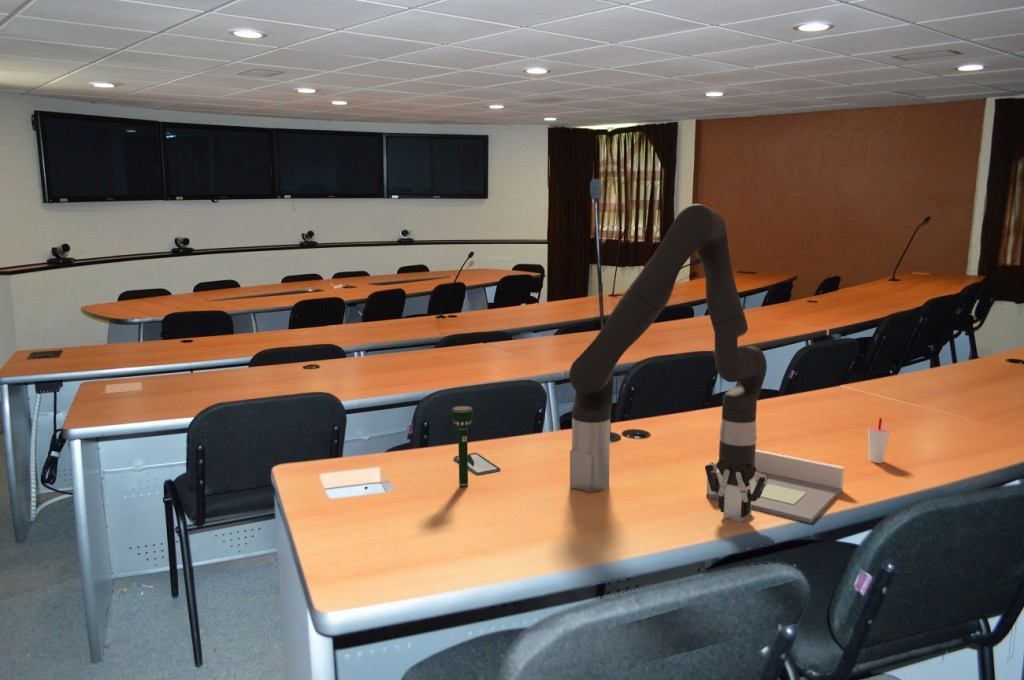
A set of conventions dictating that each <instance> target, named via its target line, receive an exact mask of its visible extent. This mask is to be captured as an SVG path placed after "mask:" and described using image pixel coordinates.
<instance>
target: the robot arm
mask: <svg viewBox="0 0 1024 680" xmlns="http://www.w3.org/2000/svg"><path fill="white" fill-rule="evenodd" d="M695 251H696V253H697V255H698V257H699V260H700V263H701V265H702V267H703V271H704V278H705V301H706V306H707V310H708V311H707V312H708V314H709V318H710V322H711V326H712V328H713V332H714V364H715V369H716V370H717V374H719V376H720V377H721V379H723V380H724V381H726V382H728V383H736V384H735V386H734V387H733V388H731V389H729V390H727V391H726V392H725V393H724V394H723V397H722V405H721V406H722V409H721V421H720V428H719V445H718V446H719V448H718V449H719V450H718V461H717V462H716V463H714V462H710V463H708V464H706V465H705V466H704V469H705V473H706V477H708V481H709V485H710V489H711V491H713V492H714V491H715V492H716V493H718V495H719V500H718V505H717V507H718V509H719V510H720V513H723V512H724V492H725V489H726V486H727V483H729V484H735V485H737V486H739V490H740V492H741V495H742V499H743V501H742V502H741V517H742V518H745V517H746V516H747V515H749V514H750V508H751V501H753V502H754V501H756V500H757V499H759V498H760V496H761V494H762V492H763V489H764V487H765V485H766V483H767V480H768V478H769V477H768V475H766V474H764V475H762V474H760V473H759V472H757V470H756V468H755V451H756V449H757V448H756V447H757V440H758V439H757V437H758V436H757V407H758V406H757V405H758V404H757V402H758V399H759V396H760V393H761V391H762V387H763V385H764V380H765V378H766V374H767V369H768V368H767V367H768V365H767V364H768V363H767V358H766V356H765V354H764V352H763V351H762V350H761V349H760V348H758V347H757V346H750V345H749V346H743V347H738V341H739V340H738V338H739V337H742V336H744V335H745V334H746V333H747V332H748V329H749V327H748V321H747V319H746V315H745V312H744V309H743V304H742V301H741V298H740V295H739V291H738V288H737V284H736V281H735V277H734V276H735V275H734V273H733V267H732V262H731V256H730V249H729V240H728V232H727V226H726V222H725V219H724V218H723V216H722V215H721V214H720V213H719V212H718V211H716V210H714V209H712V208H710V207H709V206H707V205H704V204H701V203H692V204H690V205H688V206H686V207H684V208H683V209H682V210H681V211H680V212H679V213H678V215H676V217H675V218H674V221H673V222H672V223H671V225H670V227H669V229H668V230H667V232H666V234H665V236H664V238H663V239H662V241H661V242H660V244H659V246H658V248H657V249H656V250H655V252H654V254H653V255H652V256H651V257H650V259H648V261H647V263H646V264H645V265H644V267H643V268H642V270H641V271H640V273H639V274H638V275H637V277H635V279H634V280H633V282H632V283H631V284H630V285H629V287H628V289H626V291H625V292H624V294H623V295H622V296H621V298H620V299H619V301H618V302H617V304H616V306H615V307H614V309H613V310H612V312H611V313H610V314H609V316H608V318H607V319H606V321H605V323H604V325H603V326H602V328H601V330H600V331H599V333H598V334H597V336H595V338H594V339H593V340H592V342H591V343H590V344H589V345H588V347H587V348H585V349H584V351H582V353H581V354H580V355H579V356H578V357H577V358H576V359H575V360H574V361H573V362H572V364H571V366H570V369H569V375H568V376H569V382H570V385H571V387H573V389H575V397H574V401H573V405H572V407H571V408H572V409H571V411H572V412H571V413H572V414H571V449H570V451H569V487H570V488H571V489H572V488H573V489H576V490H580V491H583V492H588V493H592V492H599V491H604V490H606V489H608V488H609V486H610V457H611V455H610V451H611V449H610V448H611V445H610V442H611V413H612V412H611V410H612V407H613V406H612V405H613V397H614V372H615V371H614V368H615V367H616V365H617V363H618V362H619V360H620V359H621V357H622V356H624V354H625V352H627V350H628V349H629V348H630V347H631V346H632V345H633V344H634V343H635V342H636V341H637V340H639V339H640V337H641V336H642V335H644V334H645V332H646V331H647V330H648V329H649V328H650V327H651V325H652V324H653V323H654V322H655V321H656V320H657V318H658V317H659V315H660V314H661V313H662V311H663V310H664V309H665V308H666V306H667V304H668V303H669V301H670V299H671V296H672V294H673V290H674V288H675V284H676V281H677V278H678V276H679V274H680V271H681V269H682V268H683V266H684V265H685V264H686V262H687V261H688V260H689V259H690V258H691V257H692V255H693V254H694V253H695ZM718 470H719V472H720V473H721V475H722V477H723V478H722V481H721V484H720V483H719V480H718V476H717V471H718ZM753 476H754V477H755V482H756V483H757V485H756V487H755V489H754V491H753V494H752V493H751V484H750V479H751V478H752V477H753ZM745 485H746V486H745Z"/></svg>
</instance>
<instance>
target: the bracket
mask: <svg viewBox="0 0 1024 680" xmlns="http://www.w3.org/2000/svg"><path fill="white" fill-rule="evenodd" d="M745 486H746V485H745ZM742 501H743V499H742V495H741V492H740V490H739V486H737V485H735V484H729V483H727V486H726V489H725V492H724V512H722V513H723V514H722V516H723V517H722V519H723V520H728V521H732V522H736V523H740V524H741V523H742V522H744V521H745V520H746V519H747V518H749V517H750V516H751V515H752V510H753V509H752V506H751V508H750V514H749V515H747V516H746V517H745V518H742V517H741V502H742Z"/></svg>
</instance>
